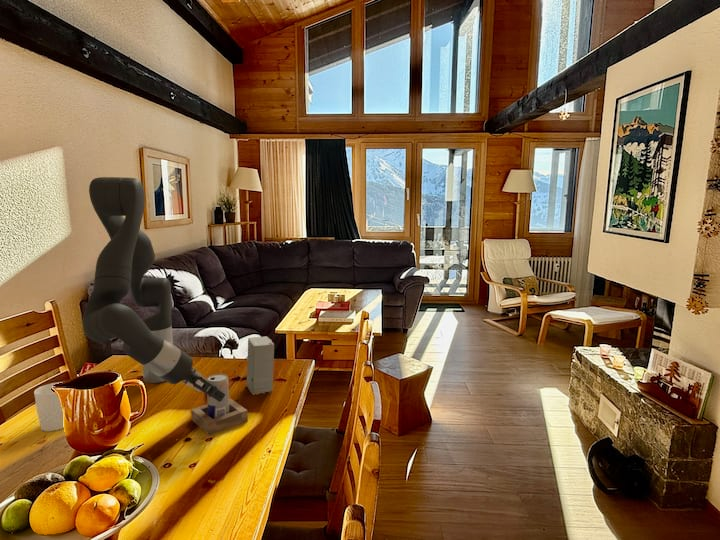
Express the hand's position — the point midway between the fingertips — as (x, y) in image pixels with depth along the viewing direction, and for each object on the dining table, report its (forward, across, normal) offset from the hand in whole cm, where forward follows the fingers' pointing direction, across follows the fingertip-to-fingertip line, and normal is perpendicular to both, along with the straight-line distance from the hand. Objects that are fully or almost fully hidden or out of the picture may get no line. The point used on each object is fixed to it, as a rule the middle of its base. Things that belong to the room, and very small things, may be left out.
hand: (214, 392), depth 110 cm
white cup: (-15, +26, +27) cm, 41 cm away
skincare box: (+20, +10, -8) cm, 24 cm away
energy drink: (+7, 0, +5) cm, 8 cm away
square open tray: (+7, 0, +5) cm, 8 cm away
